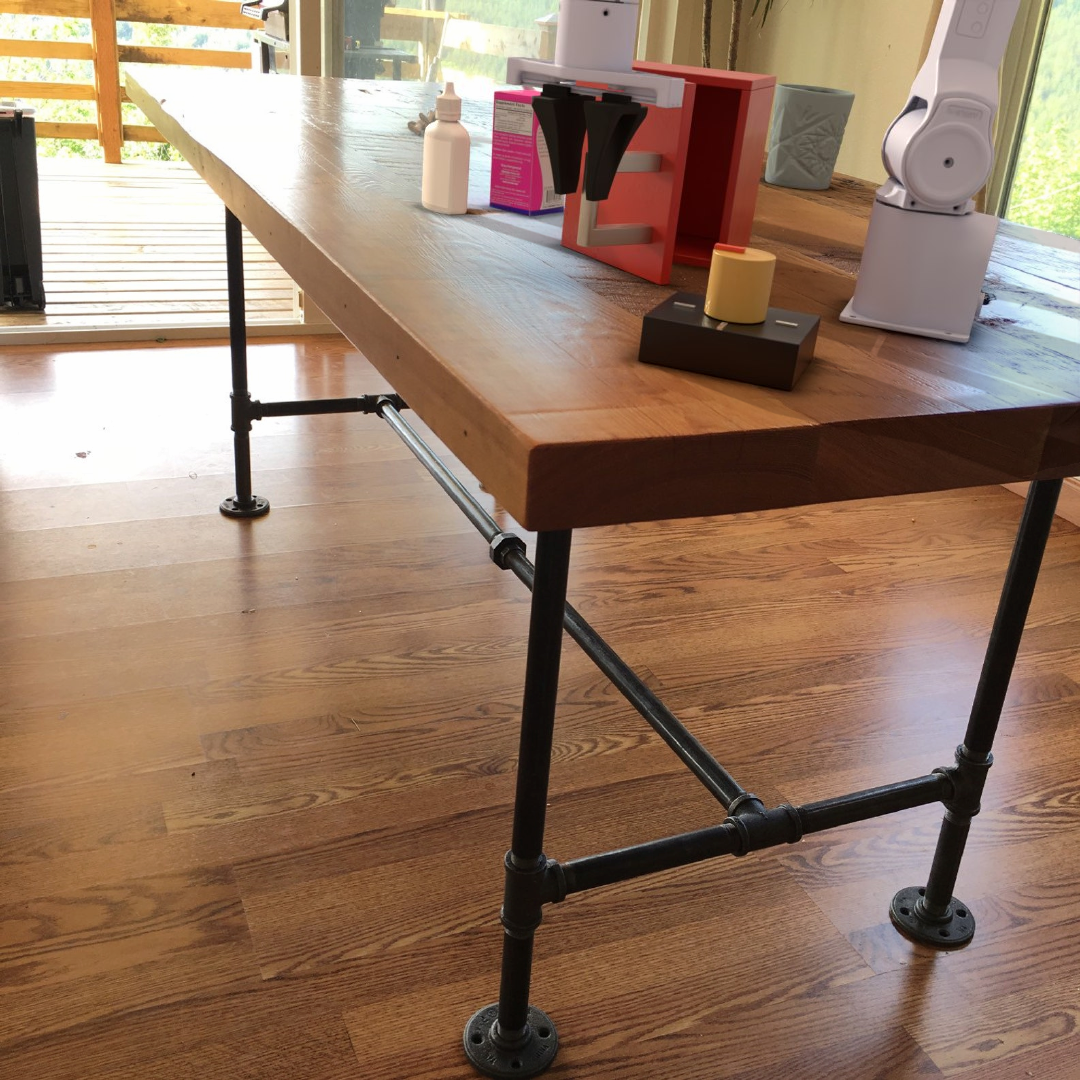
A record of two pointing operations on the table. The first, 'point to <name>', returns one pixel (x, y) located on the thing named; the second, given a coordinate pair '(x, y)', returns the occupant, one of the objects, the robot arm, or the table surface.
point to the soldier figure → (423, 121)
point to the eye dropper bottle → (446, 158)
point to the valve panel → (729, 342)
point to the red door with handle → (636, 196)
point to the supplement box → (520, 158)
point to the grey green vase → (806, 135)
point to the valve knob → (739, 284)
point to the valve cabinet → (719, 157)
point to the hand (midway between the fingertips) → (580, 196)
